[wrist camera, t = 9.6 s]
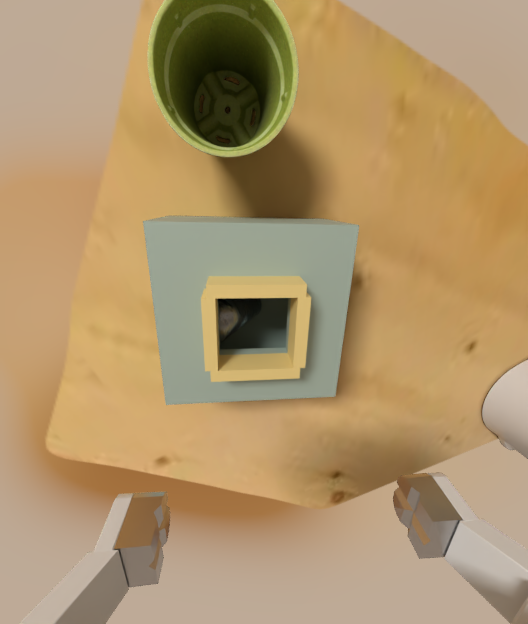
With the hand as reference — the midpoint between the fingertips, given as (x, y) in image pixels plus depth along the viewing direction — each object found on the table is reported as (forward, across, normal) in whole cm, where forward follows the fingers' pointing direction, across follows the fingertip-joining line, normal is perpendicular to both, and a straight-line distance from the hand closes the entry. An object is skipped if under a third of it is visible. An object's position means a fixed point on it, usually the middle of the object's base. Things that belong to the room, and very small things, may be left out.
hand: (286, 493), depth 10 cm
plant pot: (+24, +2, -17) cm, 30 cm away
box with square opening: (+24, 0, 0) cm, 24 cm away
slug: (+22, +1, 0) cm, 22 cm away
